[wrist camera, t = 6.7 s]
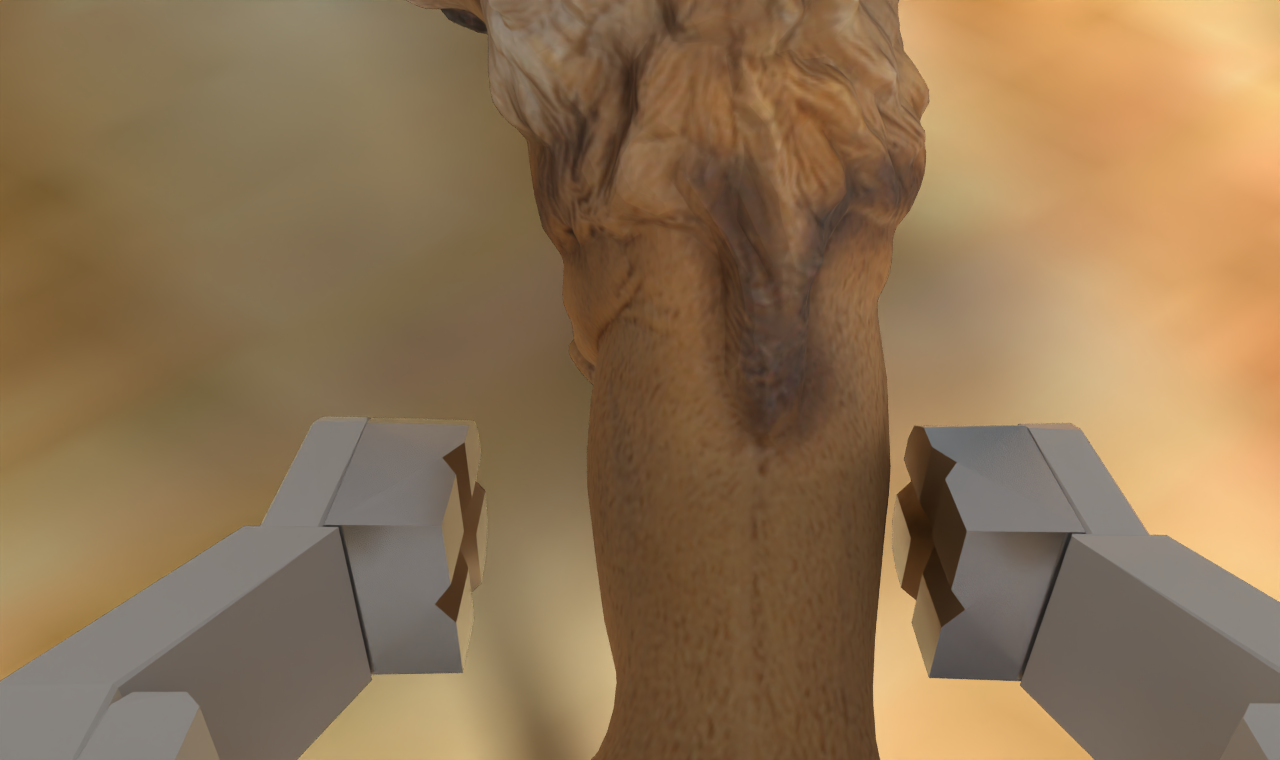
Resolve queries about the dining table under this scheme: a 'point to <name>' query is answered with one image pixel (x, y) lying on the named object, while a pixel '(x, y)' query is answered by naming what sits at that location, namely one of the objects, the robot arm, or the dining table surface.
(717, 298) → the lion figurine
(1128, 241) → the dining table surface
